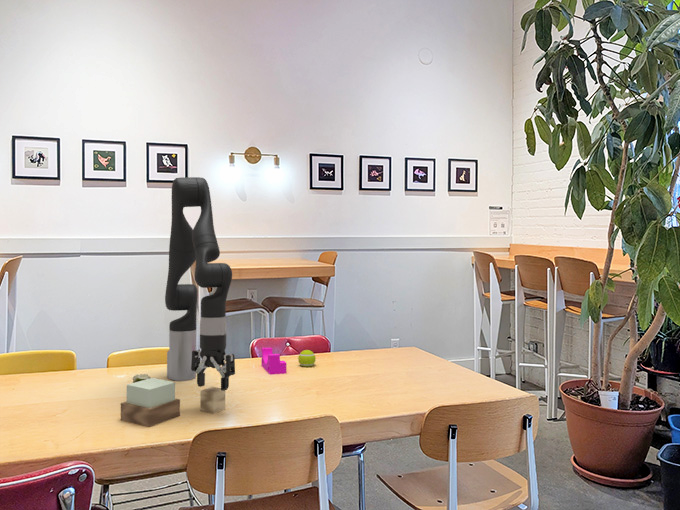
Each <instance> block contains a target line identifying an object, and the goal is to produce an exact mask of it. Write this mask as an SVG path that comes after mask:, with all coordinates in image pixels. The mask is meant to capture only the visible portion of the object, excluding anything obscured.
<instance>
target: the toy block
mask: <svg viewBox="0 0 680 510" xmlns="http://www.w3.org/2000/svg"><path fill="white" fill-rule="evenodd" d="M260 362H261V364H260V365H261V367H262V368H263V369H264V370H265V372H266V373H268V374H269V375H283V374H287V362H286V361H285V360H281V355H280V353H273V348H272V347H270V346H269V347H261V361H260Z"/></svg>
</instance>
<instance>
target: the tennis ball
mask: <svg viewBox="0 0 680 510" xmlns="http://www.w3.org/2000/svg"><path fill="white" fill-rule="evenodd" d="M297 360H298V363H299V365H300V366H301V367H304V368H311V367H312V366H314V364H315V363H316V355H315V353H314V351H312V350H309V349H305V350H302V351H301V352H300V353H299V354H298V358H297ZM310 366H311V367H310Z"/></svg>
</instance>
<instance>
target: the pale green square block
mask: <svg viewBox="0 0 680 510" xmlns="http://www.w3.org/2000/svg"><path fill="white" fill-rule="evenodd" d="M175 398H176V382H174V381H172V380H166V379H160V378H155V377H151V378H150V379H146V380H142V381H139V382H135V383H133V382H132V383H131V382H130V383H129V384H126V401H127V403H129V404H134V405H138V406H142V407H146V408H152V407H155V406H158V405H161V404H165V403H168V402H171V401H174V400H175Z"/></svg>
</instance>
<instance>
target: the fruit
mask: <svg viewBox="0 0 680 510" xmlns="http://www.w3.org/2000/svg"><path fill="white" fill-rule="evenodd" d="M150 378H152V377H151V376H149V374H147V373H144V374H142V373H141V374H135V375H134V376H133V377H132V383H135V382H139V381H142V380H146V379H150Z"/></svg>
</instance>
